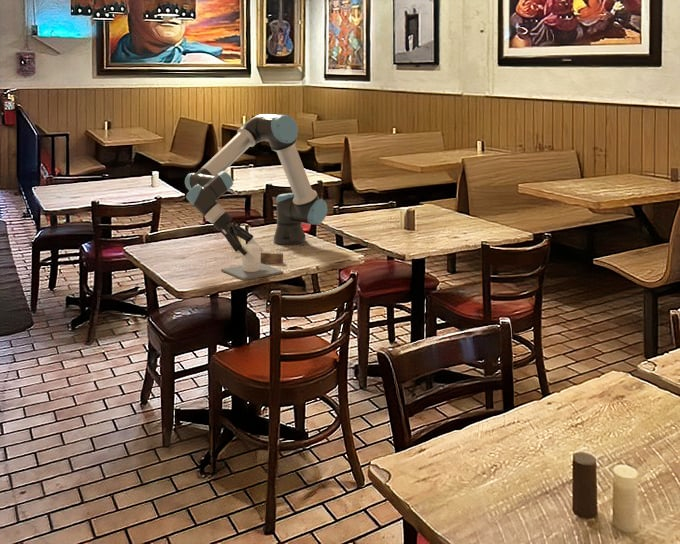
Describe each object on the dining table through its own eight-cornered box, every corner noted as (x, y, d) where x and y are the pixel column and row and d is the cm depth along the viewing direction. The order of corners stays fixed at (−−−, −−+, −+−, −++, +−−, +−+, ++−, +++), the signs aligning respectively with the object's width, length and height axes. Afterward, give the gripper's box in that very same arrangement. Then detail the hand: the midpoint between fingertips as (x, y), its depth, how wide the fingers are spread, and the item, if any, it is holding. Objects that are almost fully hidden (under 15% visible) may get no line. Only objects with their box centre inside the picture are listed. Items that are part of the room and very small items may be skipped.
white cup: (239, 268, 304) (238, 244, 301) (258, 266, 307) (257, 242, 304) (244, 273, 297) (244, 248, 294) (264, 271, 300) (263, 246, 297)
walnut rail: (250, 261, 319) (250, 252, 318) (252, 260, 321) (252, 251, 320) (281, 263, 315) (281, 254, 314) (283, 262, 317) (282, 253, 316)
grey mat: (259, 264, 314) (259, 262, 314) (283, 273, 300) (282, 271, 300) (221, 270, 304) (221, 269, 303) (243, 280, 290) (243, 278, 289)
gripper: (222, 218, 311) (258, 255, 313) (202, 230, 287) (242, 269, 289) (234, 206, 309) (270, 243, 311) (215, 217, 285) (255, 256, 287)
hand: (257, 256), depth 300 cm, fingers open, 13 cm apart
